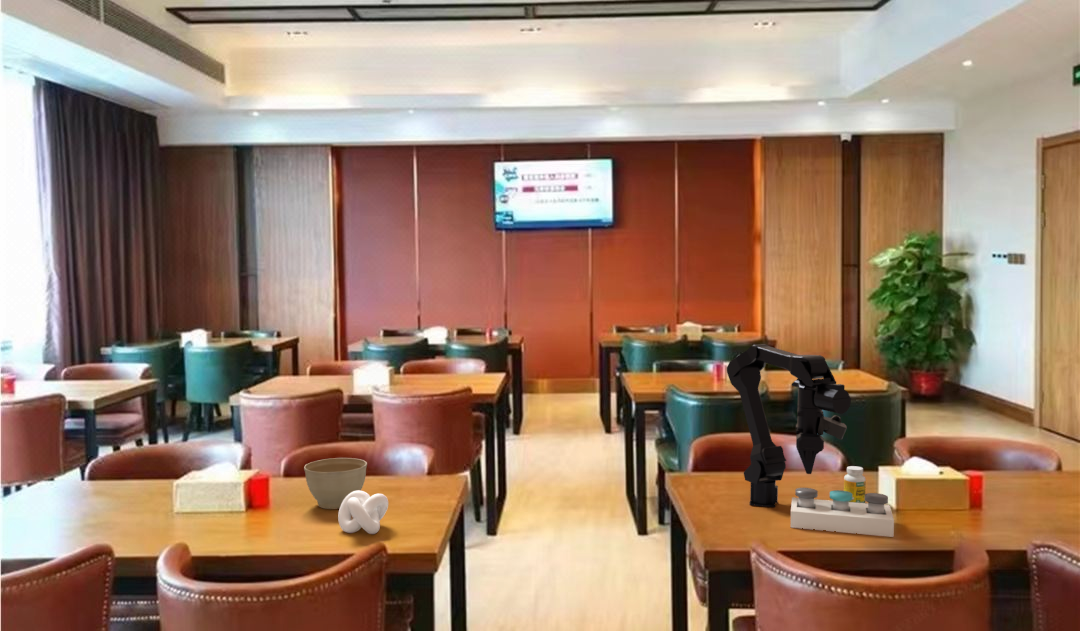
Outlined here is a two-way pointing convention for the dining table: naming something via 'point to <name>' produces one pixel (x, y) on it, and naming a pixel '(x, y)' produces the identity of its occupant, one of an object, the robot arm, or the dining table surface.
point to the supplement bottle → (855, 484)
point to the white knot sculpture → (362, 512)
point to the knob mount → (842, 518)
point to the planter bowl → (334, 479)
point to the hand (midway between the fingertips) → (808, 469)
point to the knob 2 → (876, 502)
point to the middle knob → (840, 500)
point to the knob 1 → (806, 497)
